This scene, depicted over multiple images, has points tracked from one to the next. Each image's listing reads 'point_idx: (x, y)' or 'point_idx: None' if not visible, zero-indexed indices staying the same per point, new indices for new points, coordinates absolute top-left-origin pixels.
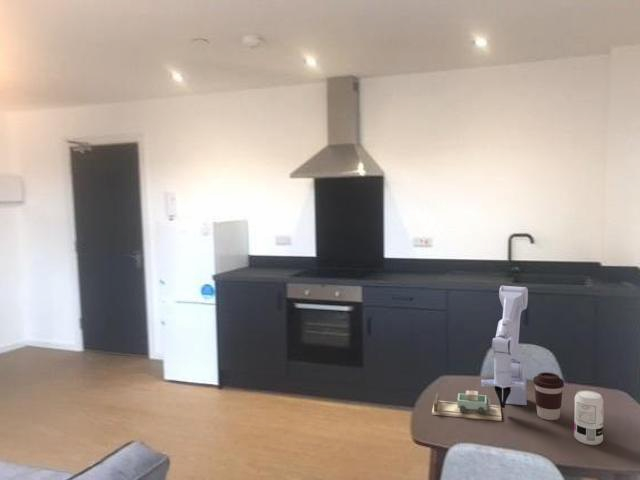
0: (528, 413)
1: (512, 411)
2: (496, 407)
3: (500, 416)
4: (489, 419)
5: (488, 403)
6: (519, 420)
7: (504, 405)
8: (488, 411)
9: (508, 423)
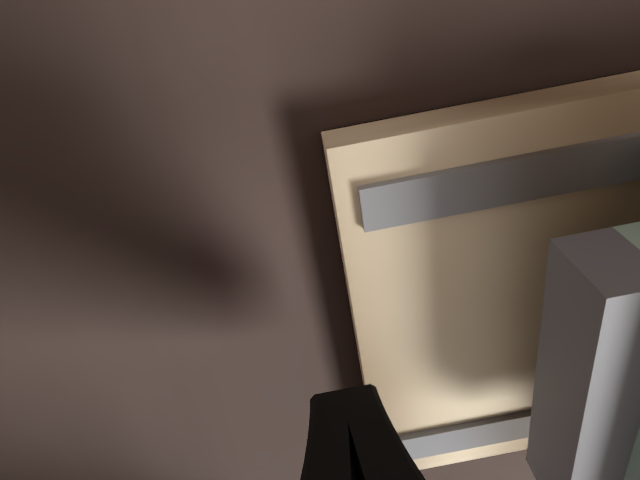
0: (58, 460)
1: (237, 438)
2: (421, 431)
3: (350, 207)
4: (511, 98)
5: (617, 380)
6: (76, 255)
7: (317, 428)
8: (529, 298)
9: (196, 77)
